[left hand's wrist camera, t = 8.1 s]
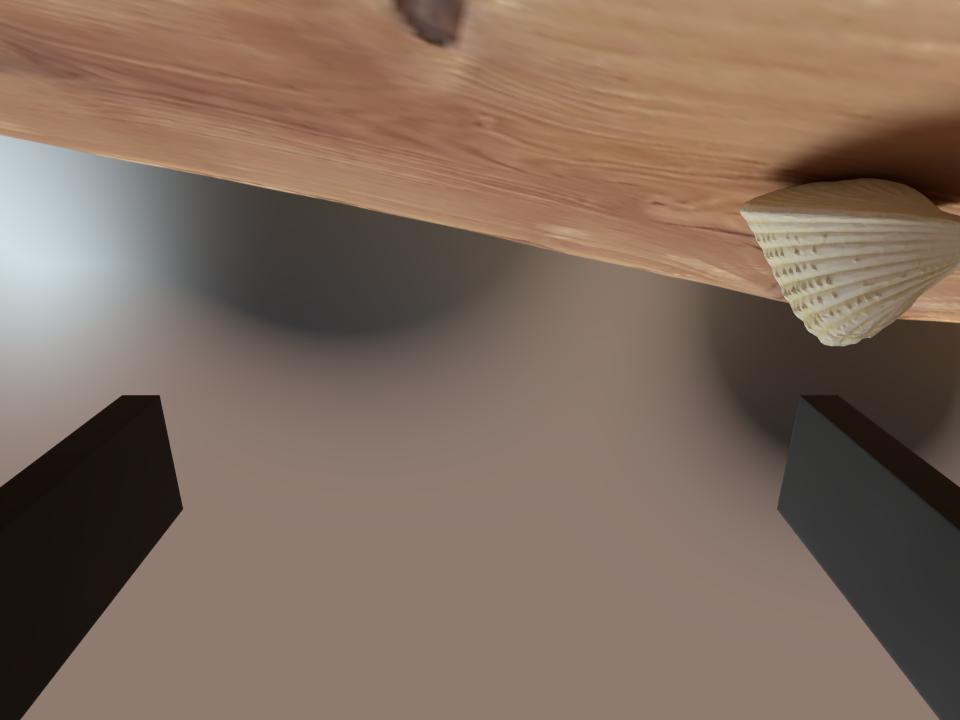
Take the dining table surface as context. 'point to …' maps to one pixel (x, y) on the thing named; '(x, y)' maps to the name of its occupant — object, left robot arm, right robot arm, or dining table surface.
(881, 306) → the seashell
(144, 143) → the dining table surface
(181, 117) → the dining table surface
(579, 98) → the dining table surface
